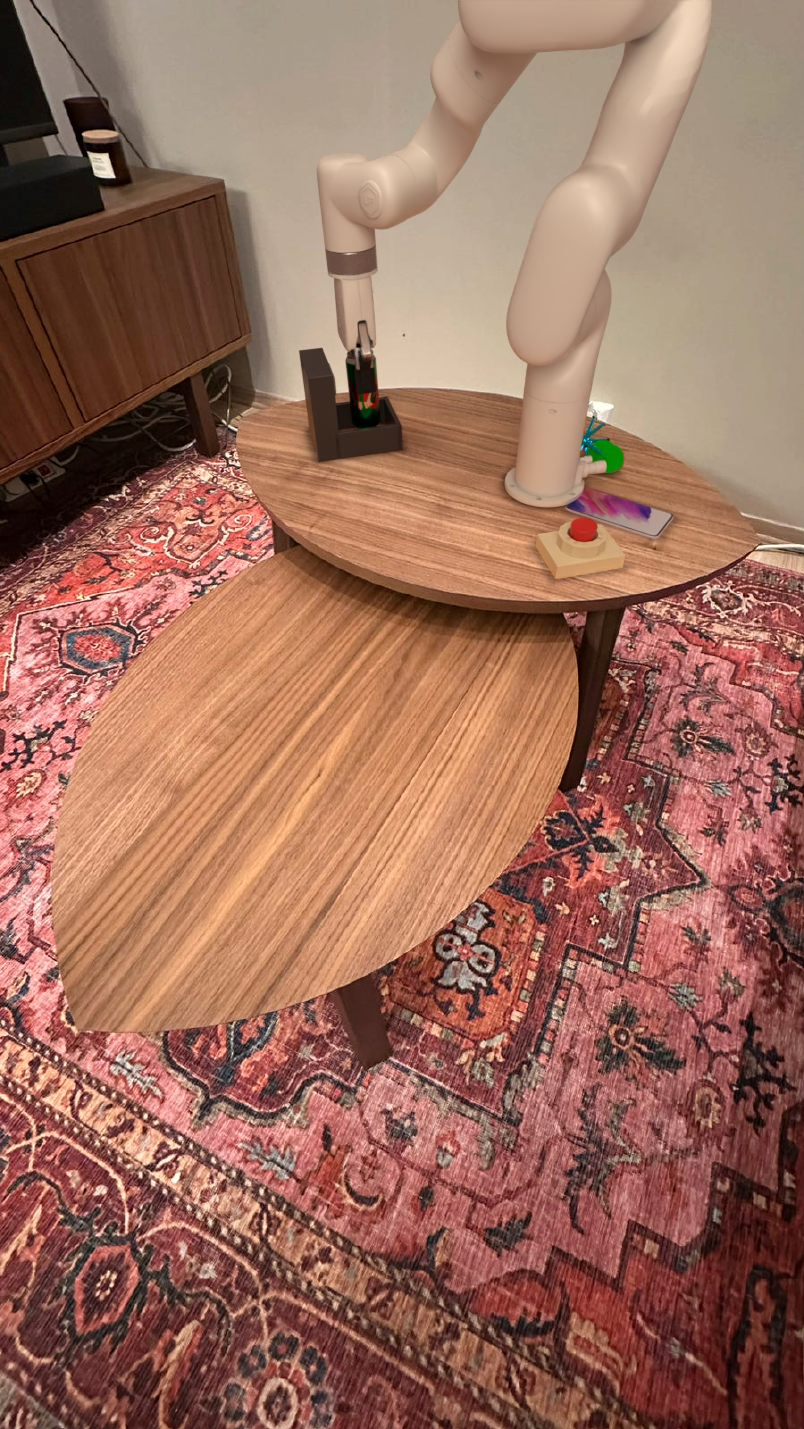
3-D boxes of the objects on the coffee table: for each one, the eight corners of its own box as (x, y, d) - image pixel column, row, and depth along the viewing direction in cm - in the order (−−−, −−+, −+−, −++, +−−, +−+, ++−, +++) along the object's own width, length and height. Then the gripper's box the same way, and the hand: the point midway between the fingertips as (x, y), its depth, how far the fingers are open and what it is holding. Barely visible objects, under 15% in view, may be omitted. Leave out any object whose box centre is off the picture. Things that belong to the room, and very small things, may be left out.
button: (589, 526, 96) (591, 515, 95) (599, 541, 94) (602, 530, 93) (565, 530, 96) (566, 519, 95) (575, 545, 94) (577, 534, 92)
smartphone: (657, 538, 100) (563, 507, 106) (656, 543, 100) (562, 512, 106) (676, 514, 103) (584, 485, 109) (674, 518, 104) (583, 490, 110)
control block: (599, 536, 101) (604, 512, 98) (622, 568, 96) (629, 543, 93) (534, 546, 100) (538, 522, 97) (555, 579, 94) (559, 555, 91)
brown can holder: (388, 420, 127) (384, 340, 117) (402, 450, 120) (399, 366, 109) (309, 431, 125) (298, 350, 115) (318, 461, 118) (308, 378, 107)
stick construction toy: (548, 446, 114) (578, 403, 111) (558, 453, 121) (587, 412, 117) (604, 487, 112) (636, 445, 108) (611, 493, 118) (642, 452, 114)
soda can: (382, 418, 122) (377, 346, 113) (379, 431, 118) (373, 358, 109) (354, 418, 122) (347, 346, 113) (350, 431, 119) (342, 358, 110)
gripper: (318, 248, 107) (333, 370, 121) (336, 280, 96) (349, 410, 109) (365, 243, 108) (374, 364, 121) (388, 274, 97) (395, 403, 110)
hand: (362, 384), depth 115 cm, fingers closed on soda can, 5 cm apart
